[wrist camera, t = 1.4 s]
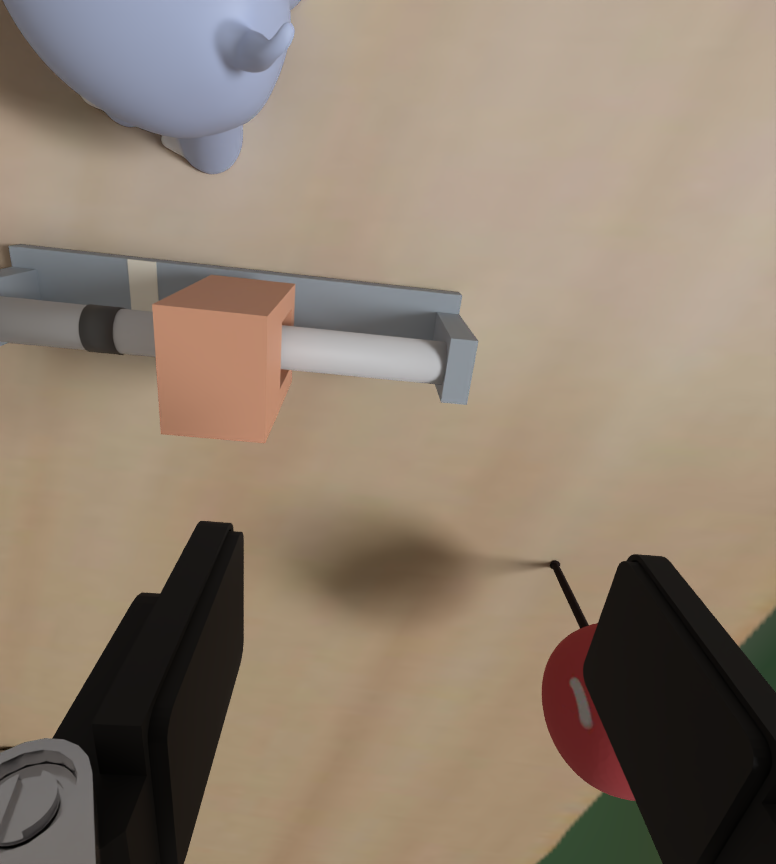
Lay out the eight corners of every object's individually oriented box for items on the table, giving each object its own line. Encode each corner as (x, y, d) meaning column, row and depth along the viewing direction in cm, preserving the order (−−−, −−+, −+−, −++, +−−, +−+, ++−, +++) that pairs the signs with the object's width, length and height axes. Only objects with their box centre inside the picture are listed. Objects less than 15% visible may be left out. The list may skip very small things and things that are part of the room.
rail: (445, 379, 31) (463, 424, 25) (35, 339, 29) (-53, 377, 23) (459, 292, 29) (482, 318, 23) (20, 244, 27) (-81, 258, 21)
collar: (291, 381, 28) (264, 443, 21) (213, 374, 27) (160, 434, 21) (295, 283, 26) (267, 316, 19) (211, 274, 25) (152, 304, 19)
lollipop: (615, 514, 35) (770, 717, 22) (601, 604, 38) (727, 832, 25) (500, 519, 35) (582, 727, 21) (495, 609, 38) (563, 840, 25)
